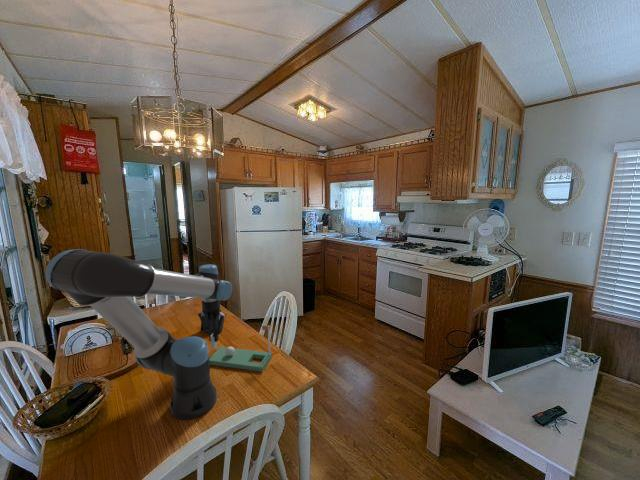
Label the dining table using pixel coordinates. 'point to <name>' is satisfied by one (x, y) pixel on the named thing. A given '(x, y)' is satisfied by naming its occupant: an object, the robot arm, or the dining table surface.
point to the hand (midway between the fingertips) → (214, 347)
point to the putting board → (242, 357)
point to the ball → (230, 351)
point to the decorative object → (202, 326)
